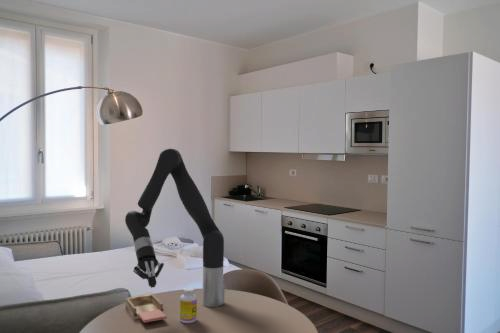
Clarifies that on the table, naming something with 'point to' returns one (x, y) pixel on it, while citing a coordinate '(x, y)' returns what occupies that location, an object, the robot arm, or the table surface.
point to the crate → (142, 305)
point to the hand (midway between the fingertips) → (153, 286)
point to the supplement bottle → (188, 305)
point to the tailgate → (152, 316)
